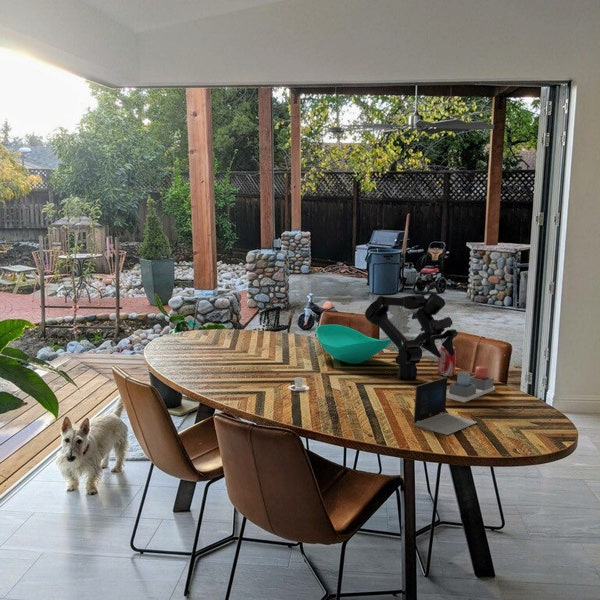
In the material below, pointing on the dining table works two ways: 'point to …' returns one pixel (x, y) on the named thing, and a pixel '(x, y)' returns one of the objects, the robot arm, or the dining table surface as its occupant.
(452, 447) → the dining table surface
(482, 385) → the button panel
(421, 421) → the laptop
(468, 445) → the dining table surface
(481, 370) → the red button
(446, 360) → the soda can
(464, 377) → the slate button
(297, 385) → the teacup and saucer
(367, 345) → the table top decor
